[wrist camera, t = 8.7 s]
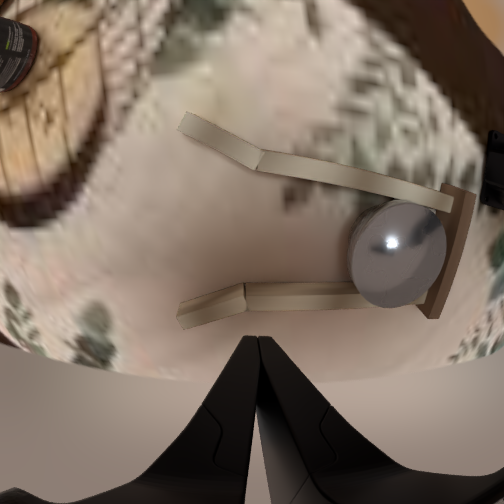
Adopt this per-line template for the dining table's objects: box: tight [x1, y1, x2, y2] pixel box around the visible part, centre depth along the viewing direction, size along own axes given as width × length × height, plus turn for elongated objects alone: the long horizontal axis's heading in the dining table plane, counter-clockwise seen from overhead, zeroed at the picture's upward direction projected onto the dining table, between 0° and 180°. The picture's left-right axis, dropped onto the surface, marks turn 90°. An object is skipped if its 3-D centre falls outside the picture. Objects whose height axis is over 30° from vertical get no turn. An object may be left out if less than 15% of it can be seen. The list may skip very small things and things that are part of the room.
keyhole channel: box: [176, 112, 476, 330], centre depth 18 cm, size 20×14×3 cm
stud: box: [347, 199, 447, 308], centre depth 18 cm, size 7×7×4 cm
